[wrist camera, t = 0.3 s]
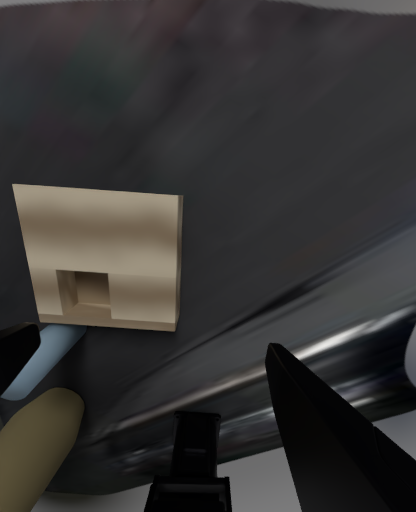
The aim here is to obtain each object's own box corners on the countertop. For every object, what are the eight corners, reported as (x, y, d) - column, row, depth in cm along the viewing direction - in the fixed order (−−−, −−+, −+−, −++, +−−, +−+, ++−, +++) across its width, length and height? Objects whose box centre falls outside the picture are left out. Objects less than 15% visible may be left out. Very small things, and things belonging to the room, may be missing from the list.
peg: (88, 338, 25) (33, 401, 17) (60, 336, 25) (-8, 398, 17) (85, 313, 24) (24, 369, 16) (55, 311, 24) (-19, 366, 16)
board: (179, 314, 24) (174, 331, 21) (61, 306, 24) (40, 321, 21) (183, 195, 20) (178, 195, 17) (41, 185, 20) (12, 183, 17)
